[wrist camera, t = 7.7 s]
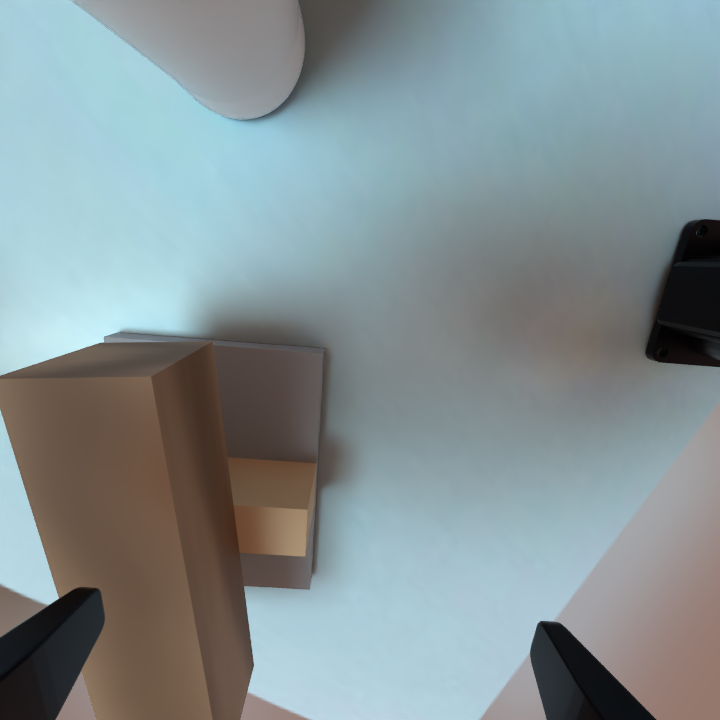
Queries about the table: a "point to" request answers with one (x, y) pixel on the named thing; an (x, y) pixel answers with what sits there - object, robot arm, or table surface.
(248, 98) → the drinking glass
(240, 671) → the batten
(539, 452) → the table surface
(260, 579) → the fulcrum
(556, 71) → the table surface
